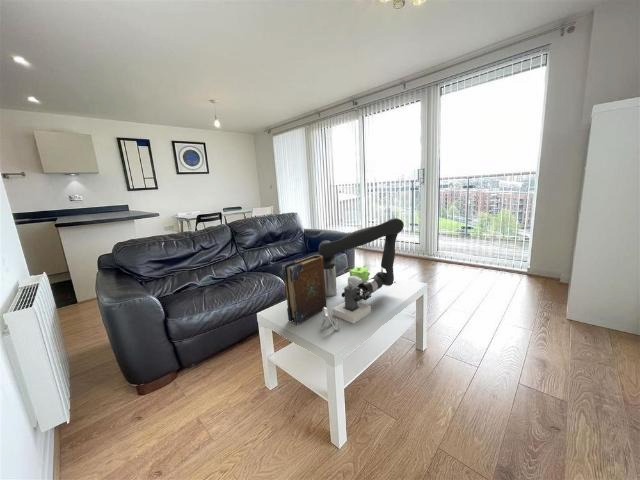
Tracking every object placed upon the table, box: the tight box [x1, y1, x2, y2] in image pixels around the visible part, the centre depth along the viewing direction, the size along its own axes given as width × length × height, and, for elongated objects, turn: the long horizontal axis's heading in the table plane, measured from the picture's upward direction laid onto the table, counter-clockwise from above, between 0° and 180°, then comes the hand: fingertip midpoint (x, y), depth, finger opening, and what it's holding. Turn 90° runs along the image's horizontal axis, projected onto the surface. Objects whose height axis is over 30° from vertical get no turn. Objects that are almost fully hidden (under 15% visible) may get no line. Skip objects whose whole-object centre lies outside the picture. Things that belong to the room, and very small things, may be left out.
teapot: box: [348, 264, 371, 282], centre depth 173 cm, size 15×13×11 cm
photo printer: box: [347, 275, 363, 287], centre depth 152 cm, size 10×4×12 cm, turn 39°
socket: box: [332, 301, 372, 324], centre depth 133 cm, size 14×14×4 cm
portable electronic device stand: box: [321, 307, 340, 332], centre depth 121 cm, size 9×8×8 cm
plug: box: [343, 283, 358, 312], centre depth 131 cm, size 4×4×16 cm
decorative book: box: [281, 254, 328, 326], centre depth 133 cm, size 23×7×30 cm, turn 137°
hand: (348, 297), depth 130 cm, fingers open, 8 cm apart
